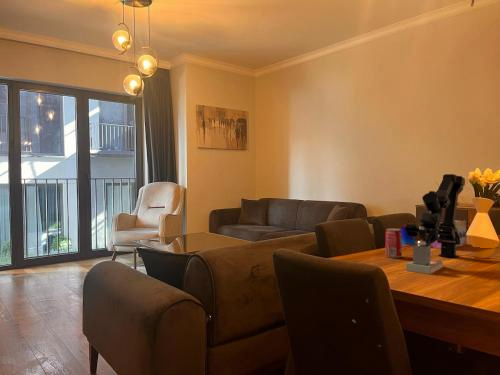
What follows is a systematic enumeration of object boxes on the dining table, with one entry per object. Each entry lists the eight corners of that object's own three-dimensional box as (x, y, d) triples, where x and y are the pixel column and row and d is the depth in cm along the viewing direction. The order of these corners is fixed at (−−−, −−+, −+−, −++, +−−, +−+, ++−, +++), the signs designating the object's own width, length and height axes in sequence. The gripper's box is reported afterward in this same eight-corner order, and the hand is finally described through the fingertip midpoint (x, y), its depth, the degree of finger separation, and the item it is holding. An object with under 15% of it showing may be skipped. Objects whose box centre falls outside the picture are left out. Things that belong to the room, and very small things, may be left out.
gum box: (454, 242, 220) (454, 218, 219) (468, 244, 213) (468, 220, 212) (428, 246, 207) (428, 221, 207) (442, 249, 200) (442, 223, 200)
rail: (421, 263, 168) (421, 256, 168) (443, 266, 162) (443, 259, 162) (406, 270, 155) (406, 263, 155) (429, 274, 149) (430, 267, 149)
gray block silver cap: (417, 264, 159) (417, 239, 158) (430, 266, 155) (430, 241, 155) (413, 266, 155) (413, 241, 155) (426, 268, 152) (426, 242, 151)
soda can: (403, 258, 177) (403, 230, 177) (386, 258, 179) (386, 230, 178) (400, 255, 184) (400, 228, 184) (384, 255, 186) (384, 228, 185)
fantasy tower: (392, 244, 216) (392, 222, 216) (409, 242, 220) (409, 221, 220) (406, 247, 205) (406, 225, 205) (424, 246, 209) (425, 224, 208)
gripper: (406, 204, 167) (395, 233, 159) (453, 207, 154) (444, 237, 146) (412, 221, 173) (403, 249, 165) (459, 224, 160) (450, 255, 152)
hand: (424, 247), depth 157 cm, fingers closed, pressing on gray block silver cap
